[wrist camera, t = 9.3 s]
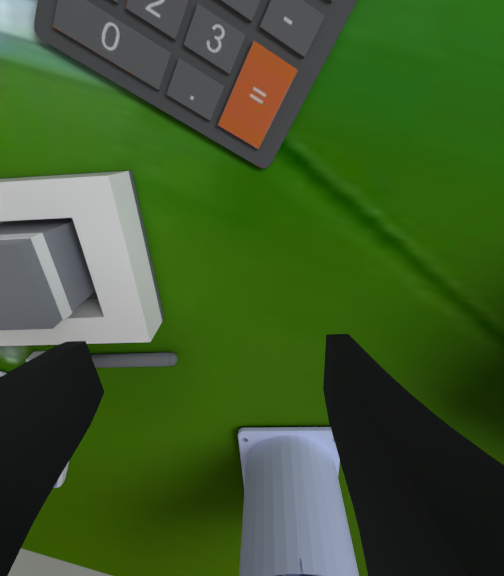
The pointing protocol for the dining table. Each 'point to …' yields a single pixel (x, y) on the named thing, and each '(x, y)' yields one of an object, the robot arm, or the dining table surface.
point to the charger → (41, 273)
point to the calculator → (205, 58)
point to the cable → (127, 359)
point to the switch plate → (93, 255)
